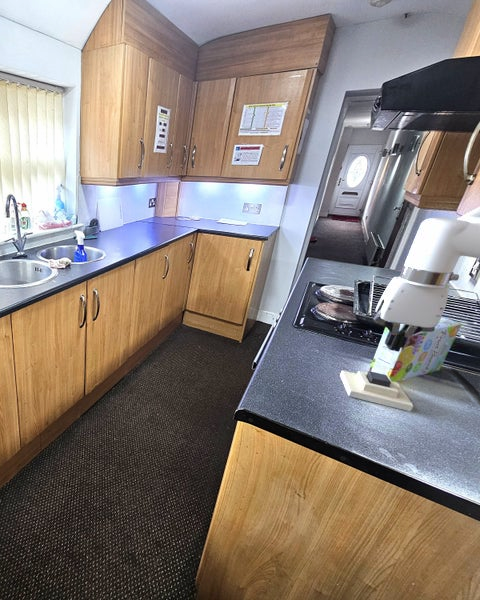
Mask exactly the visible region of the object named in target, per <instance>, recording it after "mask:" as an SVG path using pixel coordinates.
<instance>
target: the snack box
mask: <svg viewBox="0 0 480 600" xmlns="http://www.w3.org/2000/svg"><path fill="white" fill-rule="evenodd" d="M403 325H404V324H400V329H399V331H400V330H401V328H402V327H403ZM462 325H463V324H462V323H461V322H459V321H455V320H453V319H449V318H447V317H443V316H442V317H441V319H440V321H439V323H438V324H437V326H435V330H434V331H433V332H418V333H416V334H413V335H412V336H411V337H408V338H407V340H406V342H405V344H404V347H403V348H400V351H399V352H397V351H395V350H393V351H392V350H389V348H388V347H387V346H386V344H385V340H386V338H387V335H388V333H389V330H388V328H387V327H386V326H385V327H384V330H383V333H382V335H381V338H380V341H379V343H378V346H377V348H376V351H375V354H374V356H373V359H372V362H371V364H370V367H369V369H368V371H371V372H375V373H380V374H385V375H387V377H389V378H390V379H391V381H392V382H396V383H398V382H400V381H404V380H408V379H411V378H415V377H419V376H423V375H428V374H430V373H433V372H439V371H440V370H441V368H442V366H443V364H444V362H445V360H446V358H447V355H448V353H449V352H450V349H451V348H452V345H453V344H454V341H455V339H456V337H457V335H458V333H459V331H460V329H461V327H462Z"/></svg>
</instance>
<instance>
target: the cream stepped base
mask: <svg viewBox="0 0 480 600" xmlns="http://www.w3.org/2000/svg"><path fill="white" fill-rule="evenodd" d="M367 373H368V372H366V371H360V370H358V371H357V372H351V371H347V370H343V369H342V370H341V372H340V374H339V377H340V379H341V381H342V384H343V386H344V388H345V391H346V393H347V395H348V397H351V398H354V399H358V400H362V401H367V402H371V403H375V404H378V405H383V406H387V407H391V408H395V409H398V410H403V411H406V412H412V410H413V408H414V404H413V403H412V401H411V400H410V398H409V396H408V395H407V394H406V392H405V391H404V390H403V388H402V386H401V385H400V383H399V382H392V381H391V379H390V378H389V377H388V379H389V380H390V382H391V384H390V386H389V387H385V386H380V385H376V384H372V383H369V381H368V379H367V377H366V376H367Z"/></svg>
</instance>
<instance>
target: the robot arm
mask: <svg viewBox="0 0 480 600" xmlns="http://www.w3.org/2000/svg"><path fill="white" fill-rule="evenodd" d="M460 257H468V258H474V259H480V206H479V207H476V208H474V209H472V210H471V211H468V212H467V213H465V214H463V215H462V216H459V217H458V218H450V217H430V218H426V219H425V220H423V221H422V222H421V223H420V225H419V227H418V230H417V232H416V235H415V237H414V239H413V242H412V244H411V247H410V249H409V252H408V255H407V257H406V259H405V262H404V264H403V266H402V269H401V271H400V274H399V276H394V277H393V278H392V279H391V280H390V281H389V283H388V285H387V286H386V288H385V290H384V291H383V293H382V295H381V297H380V299H379V300H378V303H377V305H376V308H375V313H376V314H375V315H374V317H372V320H373V322H375V323H376V324H377V325H378V324H379V325H381V326H385V328H386V327H387V328H388V330H389V333H388V335H387V338H386V340H385V344H386V346H387V347H388V348H389V350H392V351H393V350H395V351H397V352H399V351H400V348H403V347H404V344H405V342H406V340H407V338H408V337H411V336H412V335H413V334H416V333H418V332H433V331H434V330H435V326H437V324H438V323H439V321H440V319H441V317H443V314H444V311H445V309H446V306H447V302H448V298H449V293H450V286H449V283H450V281H451V282H453V281H458V280H459V278H460V275H459V274H457V273H454V272H453V271H454V269H455V268H456V265H457V264H458V262H459V260H460ZM400 324H404V325H403V327H402V328H401V330H400V331H399V329H400Z"/></svg>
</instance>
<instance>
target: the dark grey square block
mask: <svg viewBox="0 0 480 600" xmlns="http://www.w3.org/2000/svg"><path fill="white" fill-rule="evenodd" d="M366 373H367V376H366V377H367V379H368V381H369V383H372V384H376V385H380V386H385V387H389V386H390V384H391V382H390V380H389V379H388V377H387V375H385V374H380V373H375V372H371V371H369V370H368V371H367V372H366Z"/></svg>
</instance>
